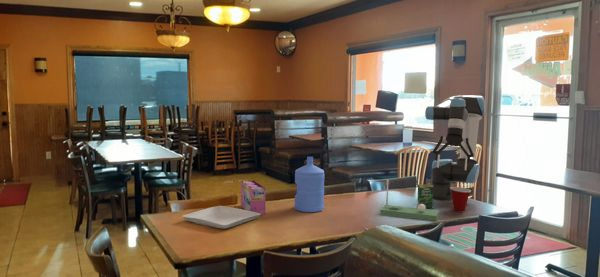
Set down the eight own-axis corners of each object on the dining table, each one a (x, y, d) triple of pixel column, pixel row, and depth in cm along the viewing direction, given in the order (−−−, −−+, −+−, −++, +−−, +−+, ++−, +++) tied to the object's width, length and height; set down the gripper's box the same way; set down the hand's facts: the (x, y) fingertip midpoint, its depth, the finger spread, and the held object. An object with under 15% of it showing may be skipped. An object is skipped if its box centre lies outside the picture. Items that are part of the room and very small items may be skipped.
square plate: (225, 233, 207) (225, 224, 206) (180, 223, 221) (180, 215, 221) (261, 219, 230) (262, 212, 229) (219, 211, 244) (219, 204, 244)
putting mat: (385, 209, 254) (385, 204, 254) (439, 215, 243) (439, 210, 243) (380, 214, 243) (380, 209, 243) (436, 220, 232) (436, 215, 232)
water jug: (329, 209, 252) (331, 157, 249) (310, 214, 240) (311, 160, 238) (308, 204, 262) (309, 154, 260) (288, 209, 251) (289, 156, 248)
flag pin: (386, 205, 253) (387, 179, 251) (387, 205, 252) (388, 179, 251) (384, 206, 249) (385, 180, 248) (386, 206, 249) (387, 180, 248)
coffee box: (418, 208, 257) (419, 184, 256) (416, 207, 260) (417, 183, 259) (432, 208, 257) (433, 185, 256) (431, 207, 260) (432, 184, 259)
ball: (418, 210, 242) (418, 202, 242) (426, 211, 241) (426, 203, 240) (416, 212, 238) (417, 204, 238) (425, 213, 237) (425, 205, 237)
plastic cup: (471, 213, 248) (472, 191, 247) (450, 212, 250) (451, 189, 249) (468, 208, 259) (469, 187, 258) (448, 207, 261) (449, 186, 260)
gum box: (239, 204, 259) (239, 180, 257) (253, 203, 261) (254, 179, 260) (250, 215, 236) (250, 188, 235) (265, 214, 239) (266, 188, 238)
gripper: (429, 125, 246) (425, 165, 243) (481, 128, 236) (477, 170, 234) (431, 127, 253) (427, 167, 250) (481, 131, 243) (477, 172, 241)
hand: (451, 168), depth 242 cm, fingers open, 13 cm apart
